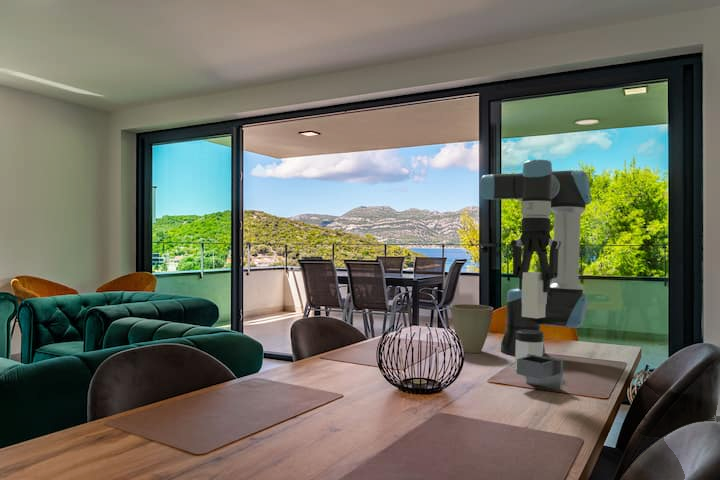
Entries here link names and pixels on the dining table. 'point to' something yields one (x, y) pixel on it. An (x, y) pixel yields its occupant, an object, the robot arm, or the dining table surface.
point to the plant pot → (471, 325)
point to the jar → (528, 344)
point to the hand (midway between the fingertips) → (533, 303)
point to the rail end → (531, 296)
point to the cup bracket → (541, 371)
